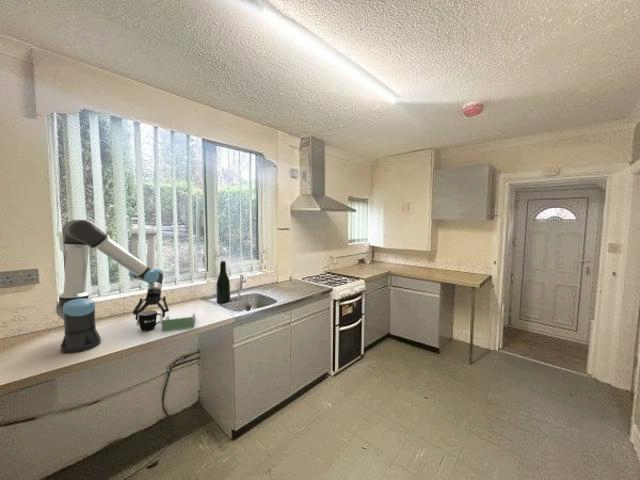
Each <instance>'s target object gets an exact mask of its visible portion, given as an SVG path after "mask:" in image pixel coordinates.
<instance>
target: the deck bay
mask: <svg viewBox="0 0 640 480" xmlns="http://www.w3.org/2000/svg"><path fill="white" fill-rule="evenodd" d="M195 320H196V313H192V316H187V317H186V316H185V317H179V318H170V316H169V315H168V316H166V317H165V319H162V323H161V331H162V332H166V331H174V330H182V329H183V330H184V329H190V328H194V326H195Z"/></svg>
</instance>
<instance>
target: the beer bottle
mask: <svg viewBox="0 0 640 480" xmlns="http://www.w3.org/2000/svg"><path fill="white" fill-rule="evenodd" d="M226 266H227V263H226V261H225V260H220V262H219V275H218V277H217V279H216V290H215V291H216V293H215V295H216V303H218V304H226V303H229V302H230V301H231V283H230V278H229V276H228V273H227V267H226Z"/></svg>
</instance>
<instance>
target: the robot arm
mask: <svg viewBox="0 0 640 480" xmlns="http://www.w3.org/2000/svg"><path fill="white" fill-rule="evenodd" d="M62 234H63V245H64V246H65V247H66V255H65V256H66V257H65V258H66V259H65V271H64V272H65V273H64V284H63V292H62V293H61V294H60V295H59V296H58V303H57V305H56V314H57V316H58V317H59V318H60V319H62V320H63V326H64V327H63V329H64V336H63V337H62V338H63V339H62V342H61V344H60V352H61V353H63V354H73V353H74V354H75V353H80V352H85V351H87V350H91V349H93V348H95V347H97V346H99V345H100V344H101V342H102V341H101V340H102V339H101V336H100V333H99V332H98V330H97V327H96V325H97V324H96V304H95V301H94V300H93V299H92V298H90V295H89V293H88V292H86V288H87V276H88V275H87V273H88V262H89V249H90V248H92V249H97V250H98V251H100V252H101V253H102V254H104V255H106V256H107V257H108V258H110V259H111V260H113V261H114V262H116V263H118V265H120V266H122V267H123V268H124V269H125V270H127V271H128V276H129V277H131V278H132V279H136V280H140V281H142V282H145V283H147V284H148V285H147V292H146V295H145V296H146V297H145V298H140V299H139V301H138V303H137V305H136V306H135V307H134V309H133V311H132V313H133V315H134V316H135V318H134V319H135V321H136V323H135V324H136V326H137V327H140V325H139V313H140V312H143V311H145V310H146V309H147V307H149V306H155V305H156V306H158V308H159V309H160V311H161V312H160V314H161V316H160V315H159V316H160V317H159V321H160V324H162V320H164V319H163V318H166V317H165V316H166V312H167V313H168V312H169V311H170V309H169V307H168V304H167V298H166V296H163V297H162V296H161V295H162V289H163V288H162V287H163V282H164V281H163V280H164V271H163V270H162V269H160V268H153V269H152V268H150V266H148V265H146V264H145V263H144V262H143V261H141V260H140V259H138V258H137V257H135V256H134V255H133V254H131V253H130V252H129V251H128V250H126V248H123V247H122V246H121V245H119V244H118V243H117V242H115V241H114V240H112V239H111V238H110V235H109V234H108V233H106V232H105V230H103V229H102V228H100V227H99V226H98V225H97V224H96V223H95V222H93V221H90V220H89V219H88V220H87V219H73V220H70V221H68V222H66V223H65V224H64V225H63V228H62ZM160 301H162V302H163V305H164V306H162V304H161V303H160Z"/></svg>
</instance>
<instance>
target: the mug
mask: <svg viewBox="0 0 640 480" xmlns="http://www.w3.org/2000/svg"><path fill="white" fill-rule="evenodd" d="M158 315H159V316H161V313H158V311H157V310H154V309H151V310H150V309H148V310H143V311H142V312H140V313H139V329H140V330H141V332H150V331H153V330H155V327H156V325H158V324H159V323H160V320H159V321H157V317H158ZM160 324H161V323H160Z"/></svg>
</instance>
